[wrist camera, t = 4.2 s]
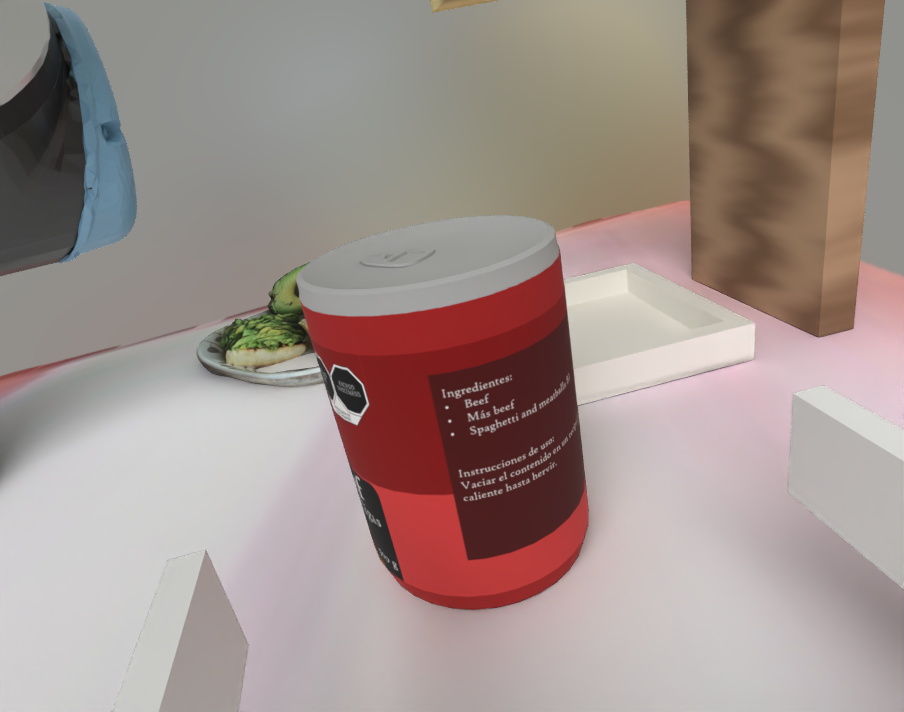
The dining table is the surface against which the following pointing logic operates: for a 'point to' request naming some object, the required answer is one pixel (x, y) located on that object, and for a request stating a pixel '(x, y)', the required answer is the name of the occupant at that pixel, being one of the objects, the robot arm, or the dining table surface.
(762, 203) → the wooden l-shaped stand
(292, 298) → the salad plate
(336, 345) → the canned food
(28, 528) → the dining table surface
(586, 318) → the shallow square white tray
